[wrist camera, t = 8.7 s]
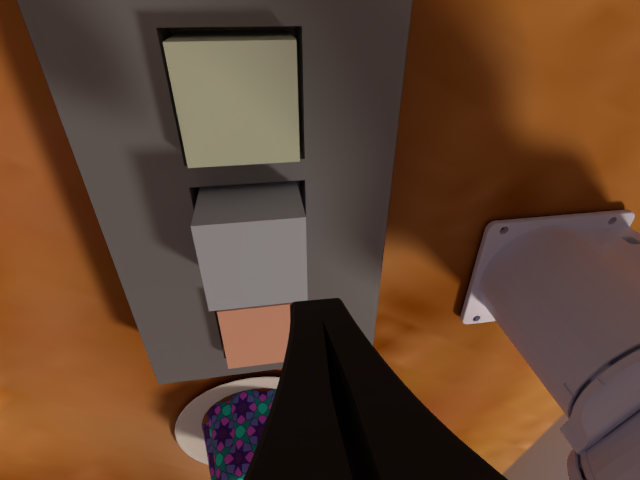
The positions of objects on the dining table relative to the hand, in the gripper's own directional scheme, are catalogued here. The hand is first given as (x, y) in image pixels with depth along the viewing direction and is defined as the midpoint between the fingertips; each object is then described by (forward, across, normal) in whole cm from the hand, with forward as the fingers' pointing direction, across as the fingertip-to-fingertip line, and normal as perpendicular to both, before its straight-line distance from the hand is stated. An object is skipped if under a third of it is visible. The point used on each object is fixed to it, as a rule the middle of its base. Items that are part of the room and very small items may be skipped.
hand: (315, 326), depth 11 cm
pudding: (+10, +3, +20) cm, 23 cm away
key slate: (+8, +2, +1) cm, 8 cm away
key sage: (+9, +2, -4) cm, 10 cm away
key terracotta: (+9, +2, +7) cm, 11 cm away
